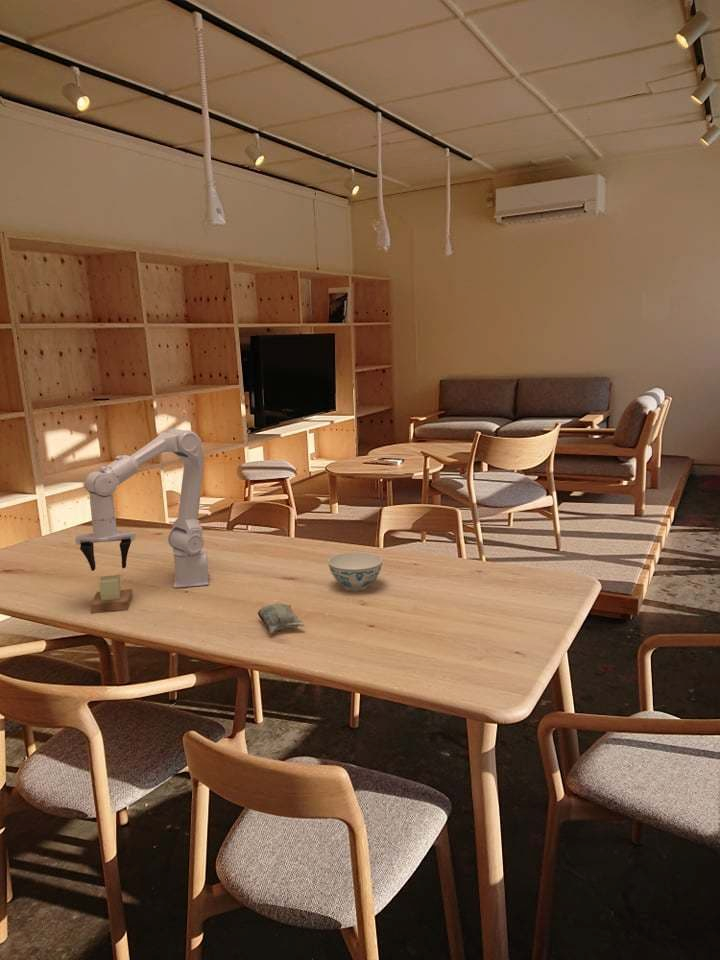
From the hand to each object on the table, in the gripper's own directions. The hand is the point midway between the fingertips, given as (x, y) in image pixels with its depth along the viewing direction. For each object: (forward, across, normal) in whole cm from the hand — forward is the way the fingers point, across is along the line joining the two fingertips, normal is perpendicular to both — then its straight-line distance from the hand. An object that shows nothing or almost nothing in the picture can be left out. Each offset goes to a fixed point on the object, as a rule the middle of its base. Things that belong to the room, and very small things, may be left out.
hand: (108, 568), depth 182 cm
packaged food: (+11, +43, -24) cm, 50 cm away
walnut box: (+11, 0, 0) cm, 11 cm away
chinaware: (+11, +65, -2) cm, 66 cm away
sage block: (+8, 0, 0) cm, 8 cm away
